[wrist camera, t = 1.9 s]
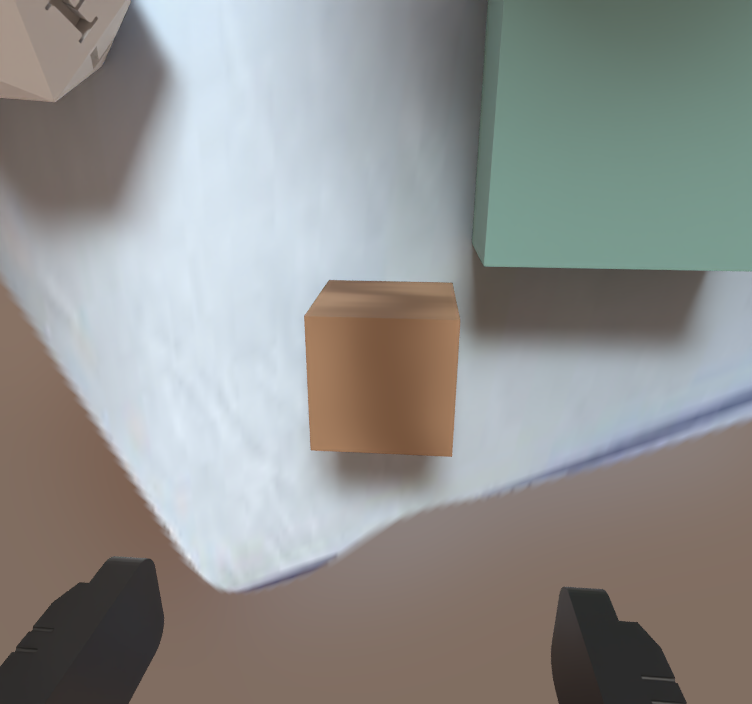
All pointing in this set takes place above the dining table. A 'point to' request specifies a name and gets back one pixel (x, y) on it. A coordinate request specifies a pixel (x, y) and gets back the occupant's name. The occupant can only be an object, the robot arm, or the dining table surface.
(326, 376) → the walnut block
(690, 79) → the base block
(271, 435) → the dining table surface
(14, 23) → the die
